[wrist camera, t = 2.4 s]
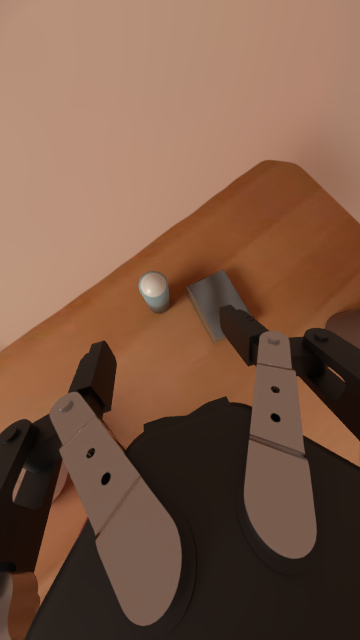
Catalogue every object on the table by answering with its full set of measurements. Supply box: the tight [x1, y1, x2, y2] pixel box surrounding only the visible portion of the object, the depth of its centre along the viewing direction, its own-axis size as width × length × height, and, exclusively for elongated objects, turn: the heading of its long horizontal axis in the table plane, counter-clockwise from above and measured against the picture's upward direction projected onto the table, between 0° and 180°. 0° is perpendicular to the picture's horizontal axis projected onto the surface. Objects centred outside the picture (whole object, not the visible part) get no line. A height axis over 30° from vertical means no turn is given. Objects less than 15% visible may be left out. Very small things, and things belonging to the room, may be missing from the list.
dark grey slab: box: [186, 270, 252, 343], centre depth 36 cm, size 9×13×4 cm
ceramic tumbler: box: [139, 271, 170, 314], centre depth 33 cm, size 5×5×10 cm
